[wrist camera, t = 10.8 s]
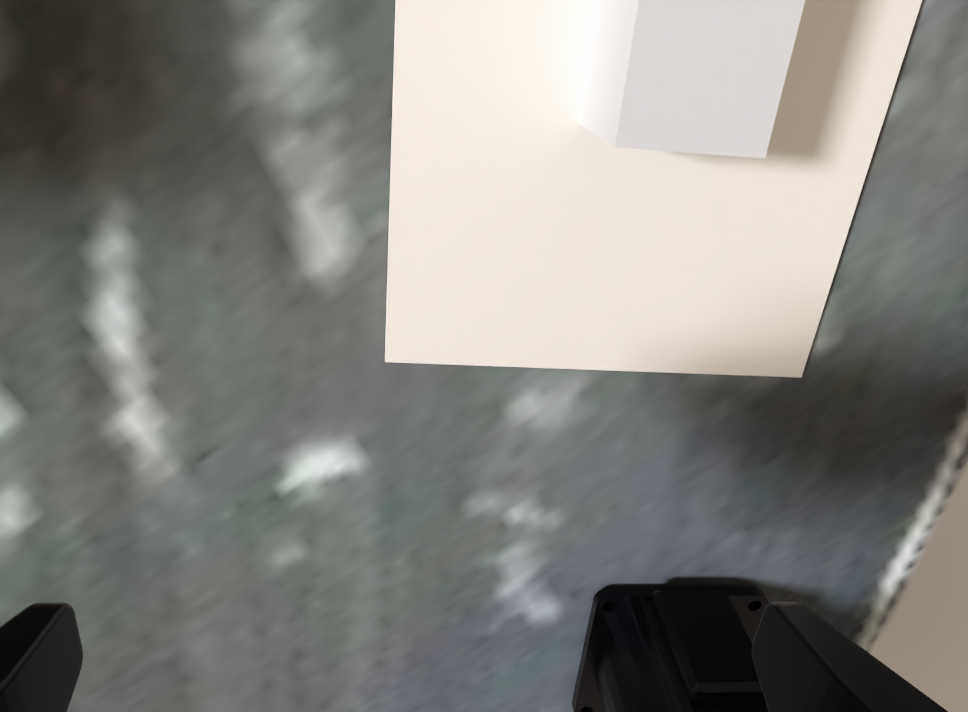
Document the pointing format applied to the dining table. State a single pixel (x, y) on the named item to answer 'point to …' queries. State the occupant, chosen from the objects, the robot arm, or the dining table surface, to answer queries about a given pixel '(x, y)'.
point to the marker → (689, 73)
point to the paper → (616, 199)
